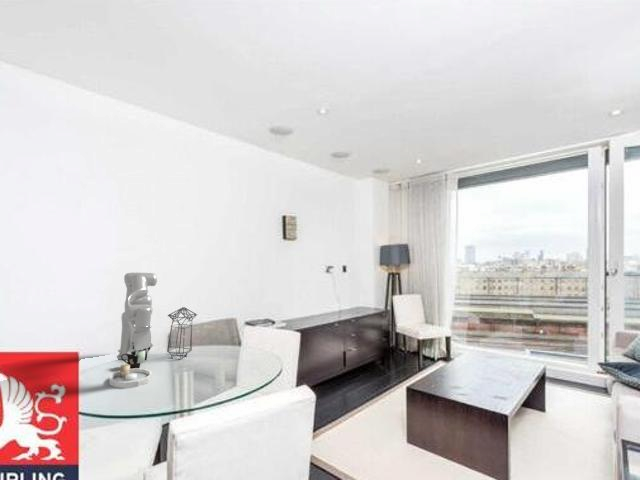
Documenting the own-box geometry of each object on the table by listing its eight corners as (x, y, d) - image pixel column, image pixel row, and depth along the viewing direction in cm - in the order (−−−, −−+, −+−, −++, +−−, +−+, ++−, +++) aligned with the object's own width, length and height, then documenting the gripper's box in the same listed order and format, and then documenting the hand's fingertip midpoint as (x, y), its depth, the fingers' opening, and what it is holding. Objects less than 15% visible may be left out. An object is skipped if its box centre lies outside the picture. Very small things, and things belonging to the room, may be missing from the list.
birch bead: (117, 376, 197) (118, 365, 197) (125, 373, 202) (126, 363, 202) (122, 378, 195) (123, 367, 195) (131, 375, 199) (132, 365, 199)
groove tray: (101, 381, 191) (101, 376, 191) (136, 370, 209) (136, 365, 210) (124, 391, 181) (124, 385, 181) (158, 379, 200) (159, 373, 200)
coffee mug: (144, 367, 216) (146, 351, 216) (133, 371, 208) (134, 355, 208) (130, 364, 220) (132, 348, 220) (119, 368, 212) (120, 352, 212)
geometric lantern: (162, 358, 233) (166, 307, 235) (176, 352, 249) (180, 304, 251) (182, 361, 230) (186, 309, 232) (195, 355, 245) (199, 306, 247)
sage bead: (132, 361, 191) (133, 351, 192) (140, 359, 196) (141, 349, 196) (138, 363, 189) (139, 352, 189) (146, 361, 194) (147, 350, 194)
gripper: (151, 325, 202) (148, 356, 202) (123, 330, 187) (120, 363, 187) (159, 327, 199) (157, 358, 198) (132, 332, 184) (129, 366, 183)
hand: (139, 360), depth 193 cm, fingers closed on sage bead, 4 cm apart
